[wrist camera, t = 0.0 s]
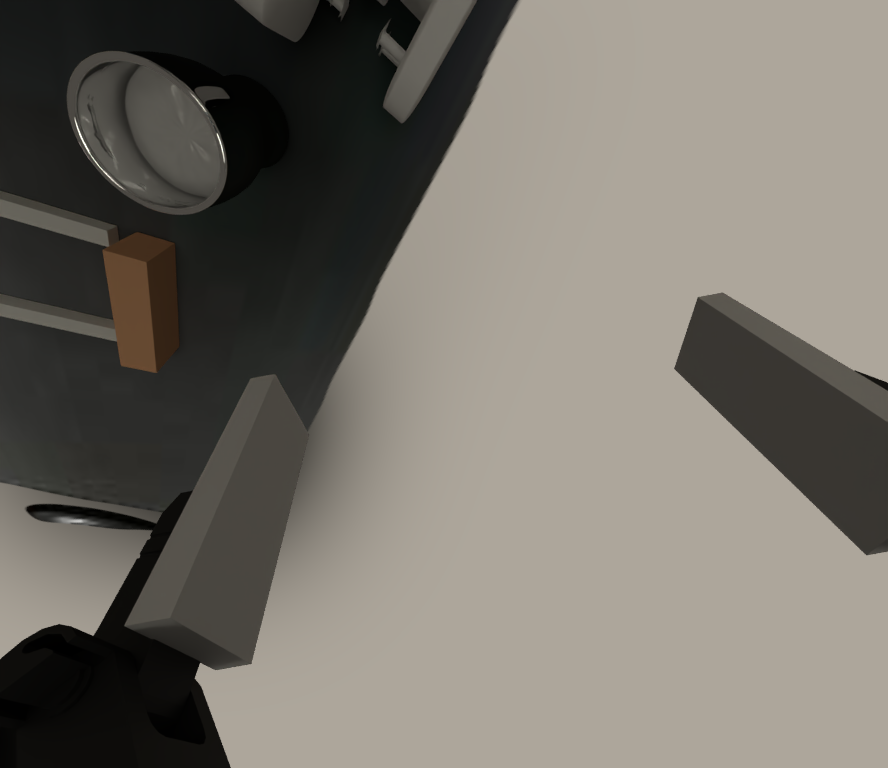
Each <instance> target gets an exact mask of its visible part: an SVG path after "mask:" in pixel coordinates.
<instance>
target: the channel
mask: <svg viewBox="0 0 888 768" xmlns="http://www.w3.org/2000/svg"><path fill="white" fill-rule="evenodd" d="M0 216H2V217H5V218H9V219H12V220H16V221H19V222H23V223H26V224H30V225H33V226H37V227H40V228H44V229H47V230H51V231H54V232H58V233H61V234H65V235H68V236H72V237H75V238H79V239H82V240H86V241H89V242H93V243H96V244H100V245H103V246H107V248H105V249H103V256H104V263H105V269H106V275H107V281H108V288H109V294H110V300H111V306H112V313H113V319H114V320H111V319H107V318H103V317H98V316H94V315H90V314H85V313H81V312H77V311H73V310H68V309H64V308H60V307H56V306H51V305H47V304H43V303H38V302H34V301H30V300H26V299H21V298H17V297H13V296H9V295H4V294H0V316H3V317H7V318H12V319H17V320H21V321H26V322H30V323H35V324H39V325H44V326H49V327H53V328H58V329H62V330H67V331H71V332H76V333H80V334H85V335H90V336H94V337H99V338H103V339H108V340H112V341H117V344H118V350H119V356H120V363H121V366H125V367H130V368H135V369H140V370H144V371H149V372H154V373H157V372H158V371H159V369H160V368H161V367H162V366H163V365H164V364H165V363H166V361H167V360H168V359H169V358H170V357H171V356H172V354H173V353H174V352H175V351H176V350H177V349H178V347H179V325H178V302H177V280H176V257H175V243H172V242H169V241H166V240H162V239H159V238H156V237H152V236H149V235H146V234H142V233H139V232H136V233H134V234H132V235H130V236H128V237H126V238H124V239H122V240H121V241H119V235H118V228H117V226H116V225H113V224H109V223H106V222H103V221H99V220H96V219H93V218H89V217H86V216H83V215H80V214H76V213H73V212H70V211H66V210H63V209H60V208H56V207H53V206H50V205H46V204H43V203H40V202H36V201H33V200H30V199H27V198H23V197H20V196H17V195H13V194H10V193H7V192H3V191H0Z"/></svg>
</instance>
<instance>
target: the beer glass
mask: <svg viewBox="0 0 888 768" xmlns="http://www.w3.org/2000/svg"><path fill="white" fill-rule="evenodd" d="M67 109H68V114H69V119H70V122H71V125H72V128H73V131H74V133H75V136H76V138H77V140H78V142H79V144H80V146H81V147H82V149H83V151H84V152H85V154H86V155H87V157H88V158H89V160H90V161H91V162H92V164H93V165H94V166H95V167H96V169H97V170H98V171H99V172H100V173H101V174H102V175H103V176H104V177H105V178H106V179H107V180H108V181H109V182H110V183H111V184H112V185H113V186H114V187H115V188H117V189H118V190H119V191H120V192H122V193H123V194H125V195H126V196H128V197H129V198H131V199H132V200H134V201H136V202H137V203H139V204H141V205H143V206H145V207H148V208H150V209H153V210H155V211H159V212H162V213H167V214H173V215H189V214H195V213H198V212H201V211H203V210H205V209H207V208H210V207H213V206H216V205H218V204H221V203H224V202H226V201H228V200H230V199H232V198H234V197H235V196H237V195H239V194H240V193H241V192H242V191H244V190H245V189H246V188H248V187H249V186H250V185H251V183H252V182H253V181H254V179H255V178H256V176H257V175H258V173H259V172H260V170H261V169H262V168H267V167H270V166H273V165H274V164H276V163H277V162H278V161H279V160H280V159H281V158H282V157H283V155H284V154H285V152H286V149H287V146H288V140H289V131H288V125H287V121H286V117H285V115H284V112H283V110H282V108H281V106H280V105H279V103H278V101H277V100H276V99H275V97H274V96H273V95H272V94H271V93H270V92H269V91H268V90H267V89H266V88H265V87H264V86H263V85H262V84H260V83H259V82H257V81H255V80H254V79H252V78H249V77H246V76H243V75H236V74H233V75H225V76H223V75H221V74H220V73H218V72H216V71H215V70H213V69H211V68H209V67H207V66H205V65H203V64H201V63H199V62H197V61H194V60H191V59H188V58H184V57H181V56H177V55H173V54H168V53H159V52H150V51H130V52H125V51H114V50H112V51H102V52H98V53H95V54H92V55H90V56H88V57H86V58H85V59H84V60H82V61H81V62H80V63H79V64H78V65H77V66H76V68H75V69H74V71H73V72H72V74H71V77H70V79H69V83H68V87H67Z"/></svg>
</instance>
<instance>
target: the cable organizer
mask: <svg viewBox="0 0 888 768" xmlns="http://www.w3.org/2000/svg"><path fill="white" fill-rule="evenodd" d="M235 1H236V2H237V3H238V4H239V5H241V6H242V7H243V8H244V9H245V10H246V11H248V12H249V13H250V14H251V15H252V16H253V17H255V18H256V19H257V20H258V21H259V22H260V23H262V24H263V25H264V26H266V27H268V28H269V29H271V30H273V31H275V32H277V33H279V34H280V35H282V36H284V37H286V38H288V39H289V40H291V41H293V42H297V41H298V40H299V39H300V38H301V37H302V36H303V34H304V33H305V31H306V30H307V28H308V26H309V24H310V22H311V20H312V18H313V16H314V13H315V11H316V8H317V6H318V3H319V1H320V0H235ZM328 1H329V2H330V6H331V4H332V5H333V6H334V7H335V8H336V9H337V10H338V11H340V12H341V13H340V15H339V17H340V16H341V20H342V18H343V17H344V15H345V13H346V11H347V9H348V7H349V0H328ZM377 1H378V2H379V3H381V4H382V5H383V6H385V5H386V3H387V2H388V0H377ZM400 1H401V2H402V3H403V4H404V5H405V6H406V7H407V8H408V9H409V10H410V11H411V12H412V13H413V14H414V16H415V17H416V18H417V19H418V20H419V21H420V22H421V24H420V25H419V27H418V29H417V31H416V33H415V35H414V37H413V39H412V41H411V43H410V45H409V47H408V49H407V51H405V50H404V49H403V48H402V47H401V46H400V45H399V44H398V43H397V42H396V41H395V40H394V39H393V38H392V37H391V36H390V33H391V32H390V33H389V34H388V33H387V32H386V29H387V26H388V24H389V22H390V20H389V21H388V23H387V24H386V26H385V27H384V28H383V30H382V31H381V32H380V35H379V38H378V41H377V44H376V47H377V48H378V46H379V44H380V45H381V49H380V52H379V54H380V55H381V53H383V54H384V55H385V56H386V57H387V58H388V59H389V60H391V61H392V62H393V63H394V64H395V65H396V66H397V67H398V68H397V70H396V72H395V74H394V76H393V79H392V81H391V83H390V86H389V88H388V90H387V93H386V96H385V99H384V103H383V108H385V109H386V110H387V111H388V112H389V113H390V114H391V115H392V116H394V117H395V118H396V119H397V120H398V121H399V122H400V123H403V122H405V121H406V120H407V118H408V117H409V116H410V115H411V113H412V112H413V111H414V109H415V108H416V106H417V105H418V103H419V101H420V100H421V98H422V97H423V95H424V93H425V92H426V90H427V88H428V86H429V85H430V83H431V81H432V79H433V78H434V76H435V74H436V72H437V71H438V69H439V67H440V65H441V64H442V62H443V60H444V58H445V56H446V55H447V53H448V51H449V49H450V48H451V46H452V44H453V42H454V41H455V39H456V37H457V35H458V34H459V32H460V30H461V28H462V27H463V25H464V23H465V21H466V19H467V18H468V16H469V14H470V12H471V11H472V9H473V7H474V5H475V4H476V2H477V0H400ZM378 56H379V55H378ZM379 57H380V56H379Z"/></svg>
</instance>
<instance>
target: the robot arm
mask: <svg viewBox="0 0 888 768" xmlns="http://www.w3.org/2000/svg"><path fill="white" fill-rule="evenodd" d="M674 369H675V370H676V371H677V372H678V373H679V374H680V375H681V376H682V377H683V378H684V379H685V380H686V381H687V382H688V383H690V384H691V386H693V388H695V389H696V390H697V391H698V392H699V393H700V394H701V395H702V396H703V397H704V398H705V399H706V400H707V401H708V402H709V403H710V404H711V405H712V406H713V407H714V408H715V409H716V410H717V411H718V412H719V413H720V414H721V415H722V416H723V417H724V418H726V420H728V421H729V422H730V423H731V424H732V425H733V426H734V427H735V428H736V429H737V430H738V431H739V432H740V433H741V434H742V435H743V436H744V437H745V438H746V439H747V440H748V441H749V442H750V443H751V444H752V445H753V446H754V447H755V448H756V449H757V450H759V452H761V453H762V454H763V455H764V456H765V457H766V458H767V459H768V460H769V461H770V462H771V463H772V464H773V465H774V466H775V467H776V468H777V469H778V470H779V471H780V472H781V473H782V474H783V475H784V476H785V477H786V478H787V479H788V480H789V481H791V482H792V483H793V484H794V485H795V486H796V487H797V488H798V489H799V490H800V491H801V492H802V493H803V494H804V495H805V496H806V497H807V498H808V499H809V500H810V501H811V502H812V503H813V504H814V505H815V506H816V507H817V508H818V509H819V510H820V511H821V512H823V514H824V515H826V516H827V517H828V518H829V519H830V520H831V521H832V522H833V523H834V524H835V525H836V526H837V527H838V528H839V529H840V530H841V531H842V532H843V533H844V534H845V535H846V536H847V537H848V538H849V539H850V540H851V541H852V542H853V543H854V544H855V545H856V546H857V547H859V548H860V550H862V551H863V552H864V553H865V554H866V555H870V554H876V553H881V552H887V551H888V383H887V382H884V381H882V380H879V379H876V378H874V377H871V376H868V375H866V374H863V373H860V372H857V371H853V370H852V369H850V368H848V367H847V366H845V365H843V364H842V363H840V362H838V361H837V360H835V359H833V358H832V357H830V356H828V355H827V354H825V353H823V352H822V351H820V350H818V349H816V348H815V347H813V346H811V345H810V344H808V343H806V342H805V341H803V340H801V339H800V338H798V337H796V336H795V335H793V334H791V333H790V332H788V331H786V330H784V329H783V328H781V327H780V326H777V325H776V324H775V323H773V322H771V321H769V320H768V319H766V318H764V317H762V316H761V315H759V314H758V313H756V312H754V311H753V310H751V309H749V308H748V307H746V306H744V305H743V304H741V303H739V302H738V301H736V300H734V299H732V298H731V297H729V296H727V295H726V294H724V293H719V294H713V295H708V296H702V297H698V299H697V302H696V305H695V308H694V311H693V314H692V317H691V320H690V323H689V326H688V329H687V332H686V335H685V338H684V341H683V344H682V347H681V350H680V353H679V356H678V359H677V362H676V365H675V368H674ZM308 437H309V434H308V432H307V430H306V428H305V426H304V425H303V423H302V421H301V419H300V418H299V416H298V414H297V412H296V410H295V409H294V407H293V405H292V403H291V402H290V400H289V398H288V396H287V394H286V393H285V391H284V389H283V387H282V386H281V384H280V382H279V380H278V378H277V377H276V375H275V374H273V375H267V376H262V377H256V378H251V379H250V381H249V383H248V385H247V386H246V388H245V390H244V392H243V394H242V396H241V398H240V400H239V402H238V404H237V406H236V408H235V410H234V412H233V414H232V416H231V418H230V420H229V422H228V424H227V426H226V428H225V430H224V431H223V433H222V435H221V437H220V439H219V441H218V443H217V445H216V447H215V449H214V451H213V453H212V455H211V457H210V459H209V461H208V463H207V465H206V467H205V469H204V471H203V473H202V474H201V476H200V478H199V480H198V482H197V484H196V486H195V488H194V490H193V491H189V492H184V493H181V494H180V495H179V496H178V497H177V498H176V499H175V500H174V501H173V502H172V503H171V504H170V506H169V507H168V508H167V509H166V510H165V511H164V512H163V513H162V515H161V517H160V518H159V520H158V522H157V524H156V526H155V527H154V529H153V531H152V533H151V535H150V536H151V538H150V539H149V540H147V542H146V544H145V545H144V547H143V549H142V551H141V552H140V558H138V559H137V560H136V562H135V563H134V565H133V567H132V569H131V571H130V572H129V574H128V576H127V578H126V579H125V581H124V583H123V585H122V587H121V588H120V590H119V592H118V594H117V595H116V597H115V599H114V601H113V603H112V605H111V606H110V608H109V610H108V612H107V613H106V615H105V617H104V619H103V621H102V622H101V624H100V626H99V628H98V630H97V631H96V633H95V634H94V636H92V635H90V634H87V633H85V632H82V631H80V630H78V629H76V628H73V627H71V626H65V625H60V624H58V625H54V626H51V627H48V628H44V629H41V630H40V631H38V632H36V633H35V634H33V635H31V636H29V637H28V638H26V639H24V640H23V641H21V642H20V643H19V644H18V645H17V646H15V647H14V648H13V649H12V650H11V651H9V652H8V653H7V654H6V655H5V656H3V657H2V658H1V659H0V768H231V767H230V764H229V762H228V759H227V756H226V753H225V751H224V748H223V745H222V743H221V740H220V737H219V734H218V732H217V729H216V726H215V723H214V721H213V718H212V715H211V712H210V710H209V707H208V704H207V702H206V699H205V696H204V693H203V690H202V688H201V686H200V685H199V683H198V682H197V681H196V680H195V676H196V673H197V670H198V667H199V664H200V663H202V664H204V665H206V666H208V667H210V668H212V669H215V670H219V669H225V668H231V667H236V666H242V665H248V664H251V663H252V659H253V655H254V651H255V647H256V643H257V639H258V635H259V631H260V627H261V623H262V619H263V615H264V611H265V607H266V603H267V599H268V595H269V591H270V587H271V583H272V580H273V576H274V572H275V567H276V564H277V560H278V556H279V552H280V548H281V544H282V540H283V536H284V532H285V528H286V524H287V520H288V516H289V512H290V508H291V504H292V500H293V496H294V492H295V489H296V485H297V480H298V477H299V473H300V469H301V465H302V461H303V457H304V453H305V449H306V444H307V441H308Z"/></svg>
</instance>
